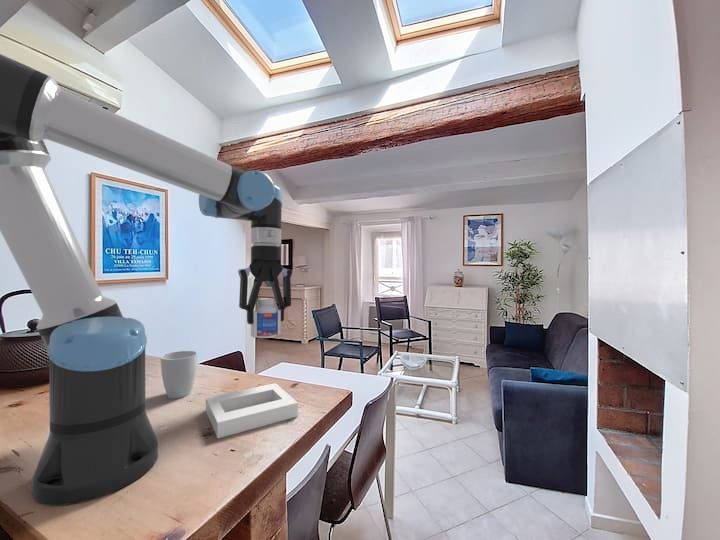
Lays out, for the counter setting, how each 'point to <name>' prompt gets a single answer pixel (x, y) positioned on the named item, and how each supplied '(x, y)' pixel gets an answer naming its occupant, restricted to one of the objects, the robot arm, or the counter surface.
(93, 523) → the counter surface
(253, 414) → the dock
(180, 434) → the counter surface
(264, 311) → the pill bottle
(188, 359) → the cup
